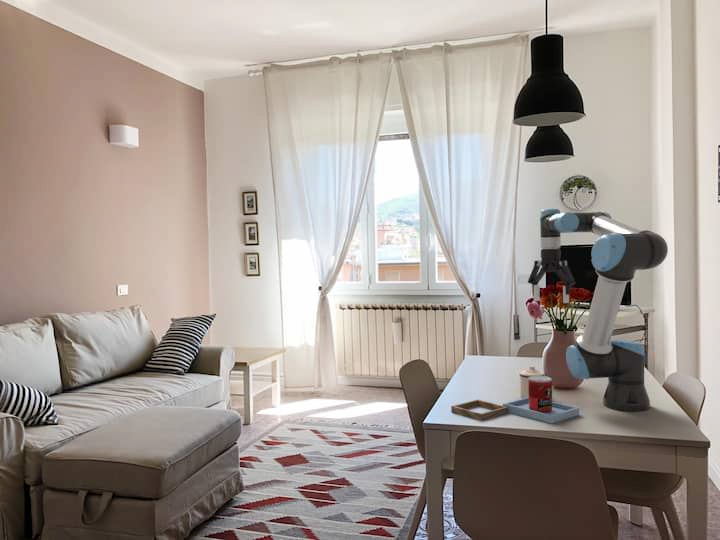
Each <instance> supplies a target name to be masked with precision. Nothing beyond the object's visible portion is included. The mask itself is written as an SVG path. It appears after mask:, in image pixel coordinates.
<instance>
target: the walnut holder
mask: <svg viewBox="0 0 720 540" xmlns="http://www.w3.org/2000/svg"><path fill="white" fill-rule="evenodd" d="M475 406H476V407H481V408H485V409H488V408H489V410H488V411H484V412H482V413H480V412H478V411H473V410H470V408H471V407H472V408H476V407H475ZM450 411H451V413H454V414H458V415H461V416H464V417H468V418H471V419H476V420H479V421H484V420H488V419H491V417H492V418H495V417H498V416H501V415H502V416H503V415H505V414H508V413H509V412H508V407H506V406H503V404H497V403H494V402H489V401H485V400H481V399H474V400H470V401H468V402H462V403H458V404H455V405H451V410H450Z"/></svg>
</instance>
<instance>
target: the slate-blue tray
mask: <svg viewBox="0 0 720 540" xmlns="http://www.w3.org/2000/svg"><path fill="white" fill-rule="evenodd" d="M502 406H506V407H508V413H510V414H514V415H517V416H521V417H525V418H528V417H529V418H528V419H532V418H533V420H536V419H537V421H540V422H544V423H548V424H551V423H553V424H556V423H559V422H562V421H565V420H564V419H566V420H568V418H569V419H571V417H572V418H574V416H575V417H578V416H580V407H579V406H578V407H577V406H573V405H568V404H564V403H561V402H560V403H559V402H555V401H552V410H551V412H548V413H541V412H537V411H533V410H530V409H529V397H526V398H520V399H516V400H512V401H508V402H504V403H502ZM577 415H578V416H577ZM561 420H562V421H561ZM558 421H559V422H558ZM555 422H556V423H555Z"/></svg>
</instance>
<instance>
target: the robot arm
mask: <svg viewBox="0 0 720 540" xmlns="http://www.w3.org/2000/svg"><path fill="white" fill-rule="evenodd" d="M539 217H540V218H539V223H540V225H539V227H540V248H541V249H540V258H541V260H534V262H533V263H534V264H533V267H532V271H531V273H530V274H529V275H530V276H529V278H528V280H527V283H528V284H531V285H532V287H531V288H532V289H531V290H532V293H533V301H534V302H540V301H541V300H540V298H541V297H540V296H541V295H540V284H539V282H540V281H541V280H542V279H543V277H544V276H545V274H546V273H555V274H556V275H557V277H558V278H559V279H560V281H561V283H563V284H564V285H563V286H562V295H563V296H562V301H563V302H562V303H563V304H569V303H570V295H571V291H572V290H571V287H572V286H574V285H576V280H575V279H574V276H573V274H572V272H571V270H570V267H569V261H568V260H561V257H562V256H561V254H562V253H561V252H562V251H561V249H560V248H561V244H562V243H561V233H562V234H565V233H572V234H573V233H592V234H594V235H597V236H599V238H597V239H596V241H595V242H594V244H593V246H592V248H591V255H590V256H591V264H592V266H593V268H594V269H595V270H594V271H595V272H596V274H597V275H598V277H597V280H596V281H597V282H596V285H595V289H594V293H593V297H592V300H591V302H590V303H591V304H590V308H589V311H588V315H587V320H586V323H585V326H584V330H583V334H581V335H579V336H577V339H576V342H575V345H574V344H572V345H570V346H568V347H567V348H566V350H565V358H566V364H567V367H568V370H569V372H570V374H571V375H572V376H573V377H574V378H576V379H579V380H581V379H582V380H583V379H585V380H589V379H601V378H603V379H604V378H606V379H607V378H608V379H607V381H608V382H607V386H606V388H605V391H604V394H603V397H602V405H603V406H605V407H607V408H609V409H614V410H618V411H626V412H627V411H628V412H642V411H647V410H649V409H650V408H651V401H650V397H649V394H648V392H647V388H646V386H645V358H646V355H645V354H646V353H645V347H644V345H643V344H642V343H641V342H638V341H632V340H626V339H619V338H611V337H612V333H613V332H614V331H613V330H614V328H615V324H616V321H617V317H618V313H619V309H620V307H621V304H622V303H621V302H622V299H623V296H624V293H625V289H626V285H627V283H629V282H631V281H632V280H633V279H634V278H635V277H634V276H635V274H636V271H641V270H650V269H651V270H652V269H654V268H657V267H658V266H660V265H661V264H662V263H663V262H664V261H665V260H666V258H667V256H668V250H669V248H668V243H667V241H666V240H665V238H663V237H662V236H661V235H660V234H658V233H656V232H654V231H651V230H648V229H647V230H640V229H637V228H636V227H632V226H630V225H628V224H626V223H624V222H623V223H622V222H620V221H618V220H616V219H613V218H612V216H611V214H610V213H609V212H602V211H596V212H594V211H593V212H570V211H564V212H561V210H560V209H557V208H547V209H542V210H540V216H539Z"/></svg>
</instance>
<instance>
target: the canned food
mask: <svg viewBox="0 0 720 540" xmlns="http://www.w3.org/2000/svg"><path fill="white" fill-rule="evenodd" d="M528 391H529V409H530V410H533V411H537V412H541V413H548V412H551V410H552V402H553V378H551V377H549V376H546V375H545V376H530V377H529V379H528Z"/></svg>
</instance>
